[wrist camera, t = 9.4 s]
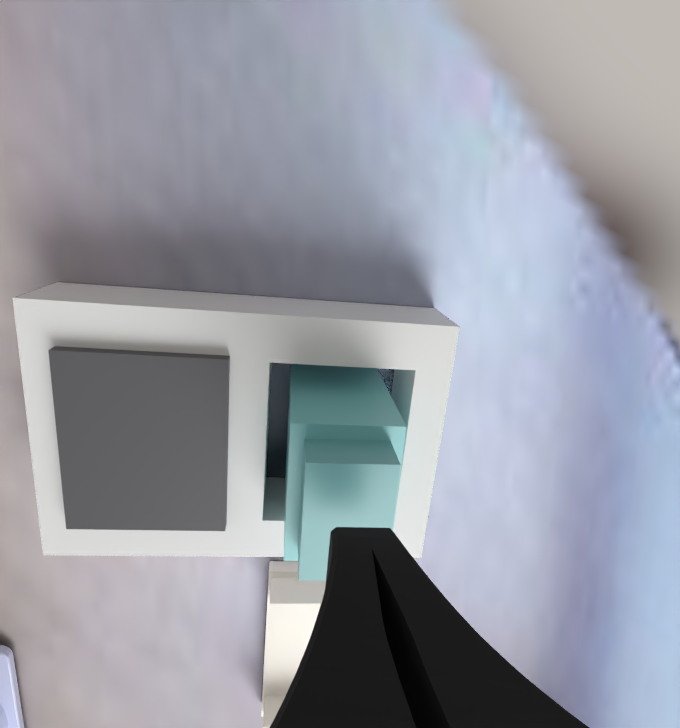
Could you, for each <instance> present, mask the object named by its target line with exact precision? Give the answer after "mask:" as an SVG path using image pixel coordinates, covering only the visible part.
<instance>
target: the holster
mask: <svg viewBox="0 0 680 728" xmlns="http://www.w3.org/2000/svg"><path fill="white" fill-rule="evenodd" d="M325 585H326V581H298V561H269V579H268V598H267V617H266V636H265V655H264V674H263V693H262V712H261V717H263V728H270V726H271V724H272V722H273V720H274V718H275V716H276V714H277V712H278V710H279V708H280V706H281V704H282V702H283V700H284V698H285V696H286V694H287V692H288V689H289V687H290V685H291V683H292V681H293V678H294V676H295V674H296V672H297V669H298V667H299V665H300V662H301V660H302V657H303V655H304V652H305V650H306V647H307V645H308V642H309V639H310V637H311V634H312V631H313V628H314V625H315V622H316V619H317V616H318V612H319V609H320V606H321V603H322V600H323V596H324V592H325Z"/></svg>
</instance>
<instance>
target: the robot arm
mask: <svg viewBox="0 0 680 728" xmlns="http://www.w3.org/2000/svg"><path fill="white" fill-rule="evenodd" d="M0 728H24V722H23V716H22V709H21V703H20V696H19V690H18V683H17V677H16V670H15V664H14V657H13V653H12V650H11V649H10V648H9V647H7V646H4V645H0ZM270 728H589V727H588V726H586V725H585V724H583V723H582V722H581V721H579V720H578V719H577V718H575V717H574V716H573V715H571V714H570V713H569V712H567V711H566V710H565V709H564V708H562V707H561V706H560V705H559V704H557V703H556V702H555V701H554V700H552V699H551V698H550V697H549V696H547V695H546V694H545V693H544V692H542V691H541V690H540V689H539V688H537V687H536V686H535V685H534V684H533V683H531V682H530V681H529V680H528V679H527V678H525V677H524V676H523V675H522V674H521V673H520V672H518V671H517V670H516V669H515V668H514V667H513V666H512V665H511V664H510V663H509V662H507V661H506V660H505V659H504V658H503V657H502V656H501V655H500V654H499V653H498V652H497V651H496V650H494V649H493V648H492V647H491V646H490V645H489V644H488V643H487V642H486V641H485V640H484V639H483V638H482V637H481V636H480V635H479V634H478V633H477V632H476V631H475V630H474V629H473V628H472V627H471V626H470V625H469V623H468V622H467V621H466V620H465V619H464V618H463V617H462V616H461V615H460V614H459V613H458V612H457V610H456V609H455V608H454V607H453V606H452V605H451V604H450V603H449V601H448V600H447V599H446V598H445V597H444V596H443V594H442V593H441V592H440V591H439V590H438V588H437V587H436V586H435V585H434V584H433V582H432V581H431V580H430V579H429V578H428V576H427V575H426V574H425V573H424V571H423V570H422V569H421V568H420V566H419V565H418V564H417V562H416V561H415V560H414V558H413V557H412V556H411V555H410V553H409V552H408V551H407V549H406V548H405V547H404V545H403V544H402V543H401V541H400V540H399V538H398V537H397V536H396V534H395V533H394V532H393V531H392V530H391V528H371V527H336V528H334V529H333V530H332V531H331V533H330V544H329V554H328V564H327V575H326V585H325V592H324V596H323V600H322V603H321V606H320V609H319V612H318V616H317V619H316V622H315V625H314V628H313V631H312V634H311V637H310V639H309V642H308V645H307V647H306V650H305V652H304V655H303V657H302V660H301V662H300V665H299V667H298V669H297V672H296V674H295V676H294V678H293V681H292V683H291V685H290V687H289V689H288V692H287V694H286V696H285V698H284V700H283V702H282V704H281V706H280V708H279V710H278V712H277V714H276V716H275V718H274V720H273V722H272V724H271V726H270Z"/></svg>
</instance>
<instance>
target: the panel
mask: <svg viewBox="0 0 680 728" xmlns="http://www.w3.org/2000/svg"><path fill="white" fill-rule="evenodd" d="M13 307H14V315H15V324H16V332H17V340H18V349H19V357H20V366H21V374H22V382H23V391H24V399H25V408H26V416H27V424H28V433H29V441H30V449H31V458H32V466H33V475H34V483H35V491H36V500H37V508H38V517H39V525H40V533H41V542H42V550H43V555H80V556H219V557H284V519H285V477H266V472H267V451H268V429H269V408H270V387H271V366H272V363H288V364H306V365H325V366H344V367H363V368H381V369H395V370H394V378H393V385H392V393H391V397H392V399H393V401H394V403H395V405H396V407H397V409H398V411H399V412H400V414H401V416H402V418H403V420H404V422H405V424H406V426H407V429H406V437H405V444H404V452H403V460H402V467H401V475H400V483H399V490H398V498H397V505H396V513H395V521H394V528H393V532H394V533H395V534H396V536H397V537H398V538H399V540H400V541H401V543H402V544H403V545H404V547H405V548H406V549H407V551H408V552H409V553H410V555H411V556H412V557H413V558H421V556H422V550H423V544H424V538H425V532H426V526H427V520H428V514H429V508H430V502H431V496H432V490H433V484H434V478H435V472H436V466H437V460H438V454H439V448H440V442H441V436H442V430H443V424H444V418H445V412H446V407H447V401H448V395H449V389H450V383H451V377H452V371H453V365H454V359H455V353H456V347H457V341H458V335H459V329H460V327H459V326H458V325H457V324H455V323H454V322H453V321H451V320H450V319H449V318H447V317H446V316H445V315H443V314H442V313H441V312H439V311H438V310H437V309H435V308H426V307H411V306H397V305H382V304H368V303H353V302H339V301H324V300H310V299H295V298H281V297H266V296H252V295H237V294H223V293H208V292H194V291H179V290H165V289H150V288H136V287H121V286H107V285H92V284H78V283H63V282H56V283H53V284H51V285H48V286H45V287H42V288H39V289H36V290H33V291H31V292H28V293H25V294H22V295H19V296H16V297H13Z"/></svg>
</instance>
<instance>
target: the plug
mask: <svg viewBox="0 0 680 728" xmlns="http://www.w3.org/2000/svg"><path fill="white" fill-rule="evenodd" d="M406 429H407V426H406V424H405V422H404V420H403V418H402V416H401V414H400V412H399V411H398V409H397V407H396V405H395V403H394V401H393V399H392V397H391V395H390V393H389V391H388V389H387V387H386V385H385V383H384V381H383V379H382V377H381V375H380V373H379V371H378V369H377V368H363V367H344V366H325V365H306V364H291V366H290V387H289V408H288V429H287V450H286V471H285V519H284V561H298V581H326V575H327V564H328V554H329V544H330V533H331V531H332V530H333V529H334V528H336V527H371V528H391V530H392V531H393V528H394V521H395V513H396V505H397V498H398V490H399V483H400V475H401V467H402V460H403V452H404V444H405V437H406Z"/></svg>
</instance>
